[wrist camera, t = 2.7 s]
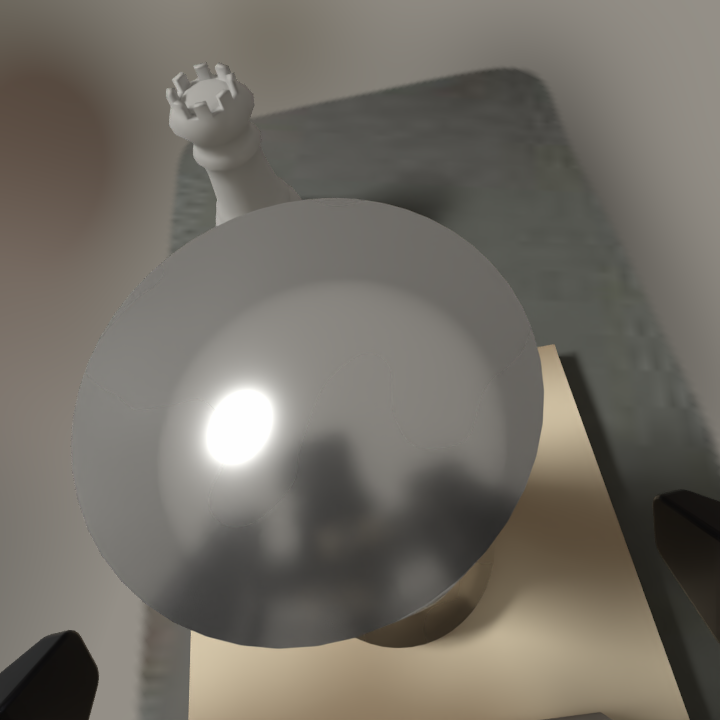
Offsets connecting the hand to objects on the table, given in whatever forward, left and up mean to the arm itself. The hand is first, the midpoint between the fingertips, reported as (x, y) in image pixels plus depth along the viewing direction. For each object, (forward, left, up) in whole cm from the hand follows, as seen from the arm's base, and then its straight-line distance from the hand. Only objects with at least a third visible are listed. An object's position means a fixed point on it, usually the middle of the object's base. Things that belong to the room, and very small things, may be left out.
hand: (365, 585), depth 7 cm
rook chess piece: (+17, +4, -10) cm, 20 cm away
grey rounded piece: (+2, 0, -9) cm, 9 cm away
